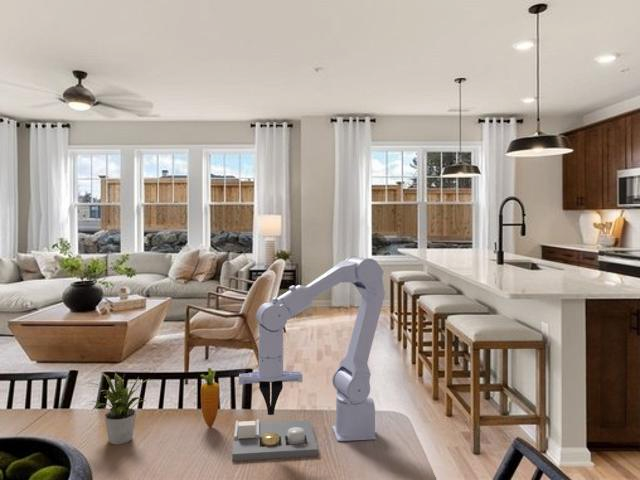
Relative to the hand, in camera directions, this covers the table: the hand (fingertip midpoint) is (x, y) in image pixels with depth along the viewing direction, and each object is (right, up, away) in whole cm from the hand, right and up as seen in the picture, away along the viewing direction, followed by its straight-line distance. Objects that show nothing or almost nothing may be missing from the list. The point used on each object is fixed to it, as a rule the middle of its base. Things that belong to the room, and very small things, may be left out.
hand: (270, 413), depth 108 cm
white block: (-6, -6, +2) cm, 9 cm away
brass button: (0, -8, 0) cm, 8 cm away
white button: (+6, -7, +1) cm, 9 cm away
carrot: (-17, -8, +11) cm, 22 cm away
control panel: (+1, -8, +3) cm, 9 cm away
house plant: (-38, -8, +4) cm, 39 cm away
